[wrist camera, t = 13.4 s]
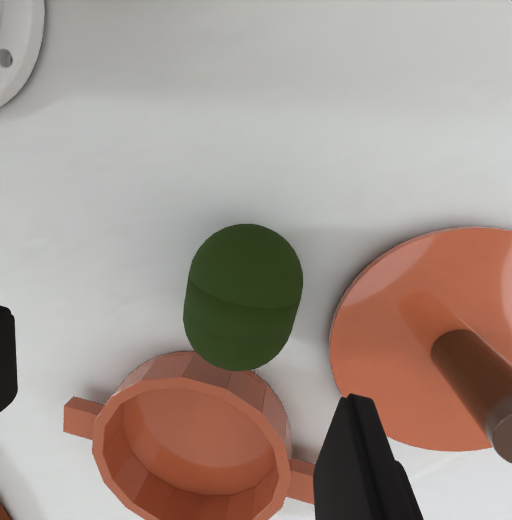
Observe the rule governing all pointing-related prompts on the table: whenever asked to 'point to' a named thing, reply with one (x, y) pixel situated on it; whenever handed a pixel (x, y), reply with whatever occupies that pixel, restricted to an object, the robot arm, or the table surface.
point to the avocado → (242, 297)
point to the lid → (433, 340)
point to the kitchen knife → (3, 514)
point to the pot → (193, 442)
